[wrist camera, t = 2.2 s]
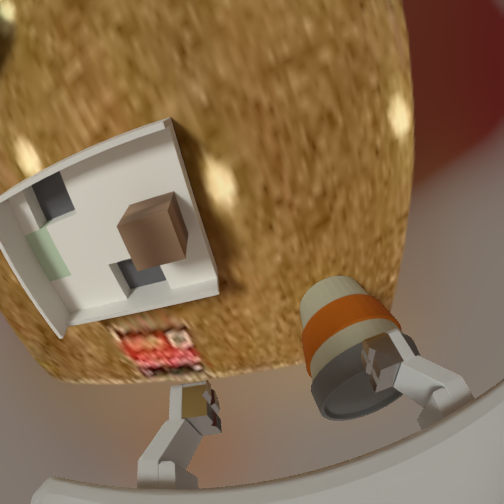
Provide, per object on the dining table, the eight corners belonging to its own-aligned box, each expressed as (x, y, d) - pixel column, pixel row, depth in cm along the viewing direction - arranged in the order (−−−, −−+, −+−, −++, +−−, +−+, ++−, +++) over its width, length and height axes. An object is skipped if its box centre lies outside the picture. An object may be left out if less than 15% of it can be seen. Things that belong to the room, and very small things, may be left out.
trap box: (170, 116, 24) (158, 124, 19) (217, 269, 33) (220, 307, 28) (13, 186, 24) (-19, 209, 19) (75, 303, 33) (59, 338, 28)
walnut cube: (173, 191, 25) (167, 210, 22) (188, 233, 28) (185, 258, 24) (129, 205, 25) (116, 226, 22) (146, 245, 28) (137, 271, 24)
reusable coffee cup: (268, 301, 37) (295, 403, 24) (352, 245, 34) (416, 333, 22) (312, 345, 43) (342, 429, 30) (382, 302, 40) (430, 379, 28)
